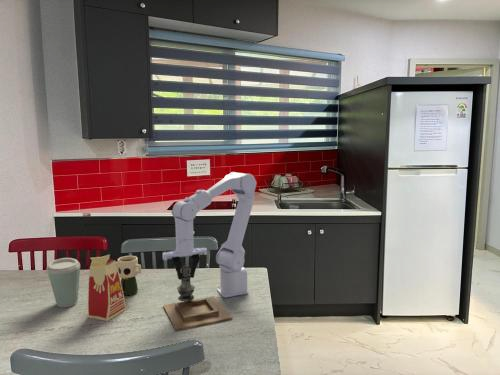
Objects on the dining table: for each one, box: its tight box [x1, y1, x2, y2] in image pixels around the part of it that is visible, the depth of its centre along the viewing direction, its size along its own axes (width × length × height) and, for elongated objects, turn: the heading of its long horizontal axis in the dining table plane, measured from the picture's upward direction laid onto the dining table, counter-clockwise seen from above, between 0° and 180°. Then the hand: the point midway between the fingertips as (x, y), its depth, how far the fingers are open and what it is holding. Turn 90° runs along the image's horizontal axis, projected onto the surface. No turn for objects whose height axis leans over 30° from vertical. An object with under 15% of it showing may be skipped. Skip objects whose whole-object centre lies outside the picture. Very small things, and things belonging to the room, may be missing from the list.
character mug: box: [115, 255, 142, 296], centre depth 146 cm, size 11×7×13 cm, turn 71°
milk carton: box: [87, 254, 127, 322], centre depth 129 cm, size 9×9×20 cm
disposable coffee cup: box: [46, 257, 81, 308], centre depth 136 cm, size 11×11×15 cm
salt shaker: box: [176, 263, 196, 302], centre depth 133 cm, size 6×6×12 cm
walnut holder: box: [162, 295, 233, 332], centre depth 130 cm, size 18×18×2 cm
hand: (185, 277), depth 133 cm, fingers closed on salt shaker, 4 cm apart
